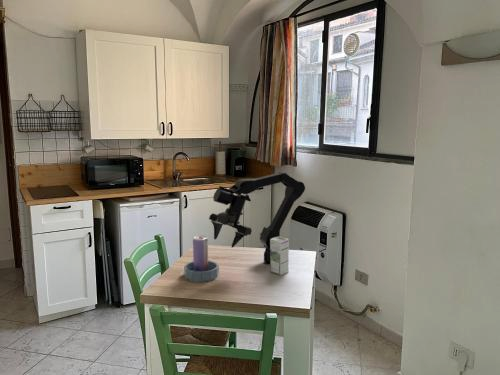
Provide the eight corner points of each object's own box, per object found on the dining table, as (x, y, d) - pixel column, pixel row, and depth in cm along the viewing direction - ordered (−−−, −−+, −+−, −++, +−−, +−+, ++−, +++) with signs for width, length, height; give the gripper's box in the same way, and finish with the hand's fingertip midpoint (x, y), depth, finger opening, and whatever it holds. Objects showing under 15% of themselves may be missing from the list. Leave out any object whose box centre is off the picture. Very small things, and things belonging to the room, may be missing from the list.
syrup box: (289, 271, 170) (289, 238, 168) (280, 275, 166) (280, 241, 163) (278, 268, 174) (278, 235, 172) (269, 272, 170) (269, 238, 167)
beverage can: (197, 276, 162) (196, 240, 159) (191, 272, 167) (190, 236, 164) (210, 273, 165) (210, 238, 162) (204, 269, 170) (203, 234, 167)
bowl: (221, 270, 172) (221, 261, 171) (213, 282, 158) (213, 273, 158) (190, 268, 174) (190, 259, 173) (180, 280, 160) (180, 271, 160)
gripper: (208, 198, 168) (195, 234, 168) (244, 213, 159) (231, 251, 159) (222, 202, 177) (210, 235, 178) (257, 216, 168) (245, 251, 168)
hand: (223, 243), depth 170 cm, fingers open, 9 cm apart
